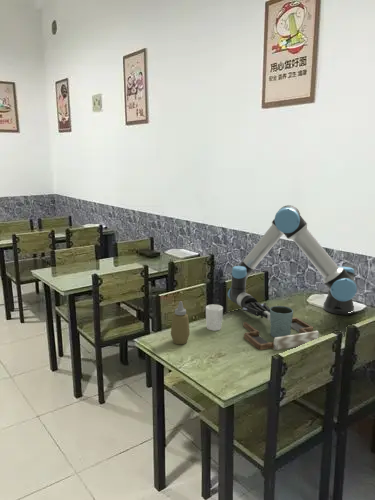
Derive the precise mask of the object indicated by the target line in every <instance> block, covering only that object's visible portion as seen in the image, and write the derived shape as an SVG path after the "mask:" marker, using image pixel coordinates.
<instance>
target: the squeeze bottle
mask: <svg viewBox="0 0 375 500" xmlns="http://www.w3.org/2000/svg"><path fill="white" fill-rule="evenodd" d="M170 327H171V329H170V336H171V338H172V342H173V344H175V345H184V344H187V343H188V341H189V339H190V338H189V337H190V335H191V334H190V333H191V332H190V320H189V315H188V314H187V309H186V308H184V304H183V301H181V300H179V302H178V306H177V308H175V309H174V313H173V315H172V318H171V326H170Z"/></svg>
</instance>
